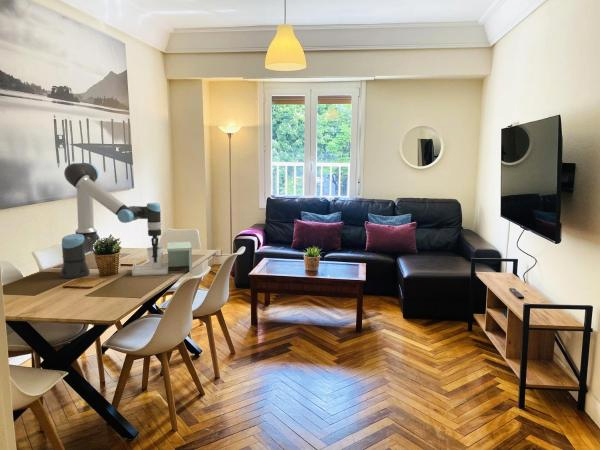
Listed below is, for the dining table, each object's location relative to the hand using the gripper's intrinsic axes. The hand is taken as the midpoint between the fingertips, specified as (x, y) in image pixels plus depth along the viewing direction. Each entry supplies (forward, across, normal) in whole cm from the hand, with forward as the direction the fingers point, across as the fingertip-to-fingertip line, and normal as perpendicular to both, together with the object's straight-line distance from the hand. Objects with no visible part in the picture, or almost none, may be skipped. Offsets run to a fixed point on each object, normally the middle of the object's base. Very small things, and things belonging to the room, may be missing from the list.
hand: (155, 265), depth 268 cm
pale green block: (+4, +1, -14) cm, 14 cm away
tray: (+3, 0, +3) cm, 5 cm away
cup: (0, 0, 0) cm, 0 cm away
